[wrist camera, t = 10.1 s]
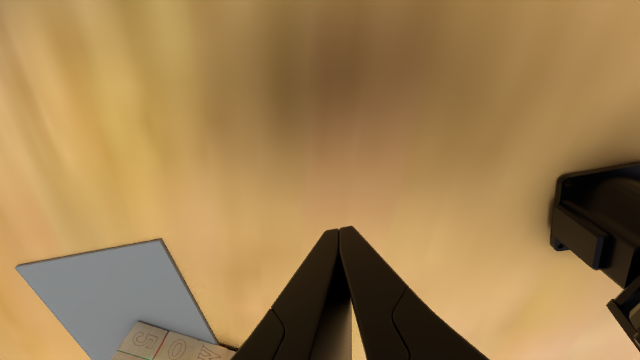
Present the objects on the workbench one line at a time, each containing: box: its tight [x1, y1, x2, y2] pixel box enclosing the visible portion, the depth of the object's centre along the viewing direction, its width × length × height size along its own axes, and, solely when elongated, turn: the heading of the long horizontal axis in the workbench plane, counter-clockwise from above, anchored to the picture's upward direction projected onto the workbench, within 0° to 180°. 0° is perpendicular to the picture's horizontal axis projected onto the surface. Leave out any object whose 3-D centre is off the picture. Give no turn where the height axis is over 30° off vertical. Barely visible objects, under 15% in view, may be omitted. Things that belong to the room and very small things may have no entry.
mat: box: [14, 239, 220, 360], centre depth 30 cm, size 14×24×1 cm, turn 13°
